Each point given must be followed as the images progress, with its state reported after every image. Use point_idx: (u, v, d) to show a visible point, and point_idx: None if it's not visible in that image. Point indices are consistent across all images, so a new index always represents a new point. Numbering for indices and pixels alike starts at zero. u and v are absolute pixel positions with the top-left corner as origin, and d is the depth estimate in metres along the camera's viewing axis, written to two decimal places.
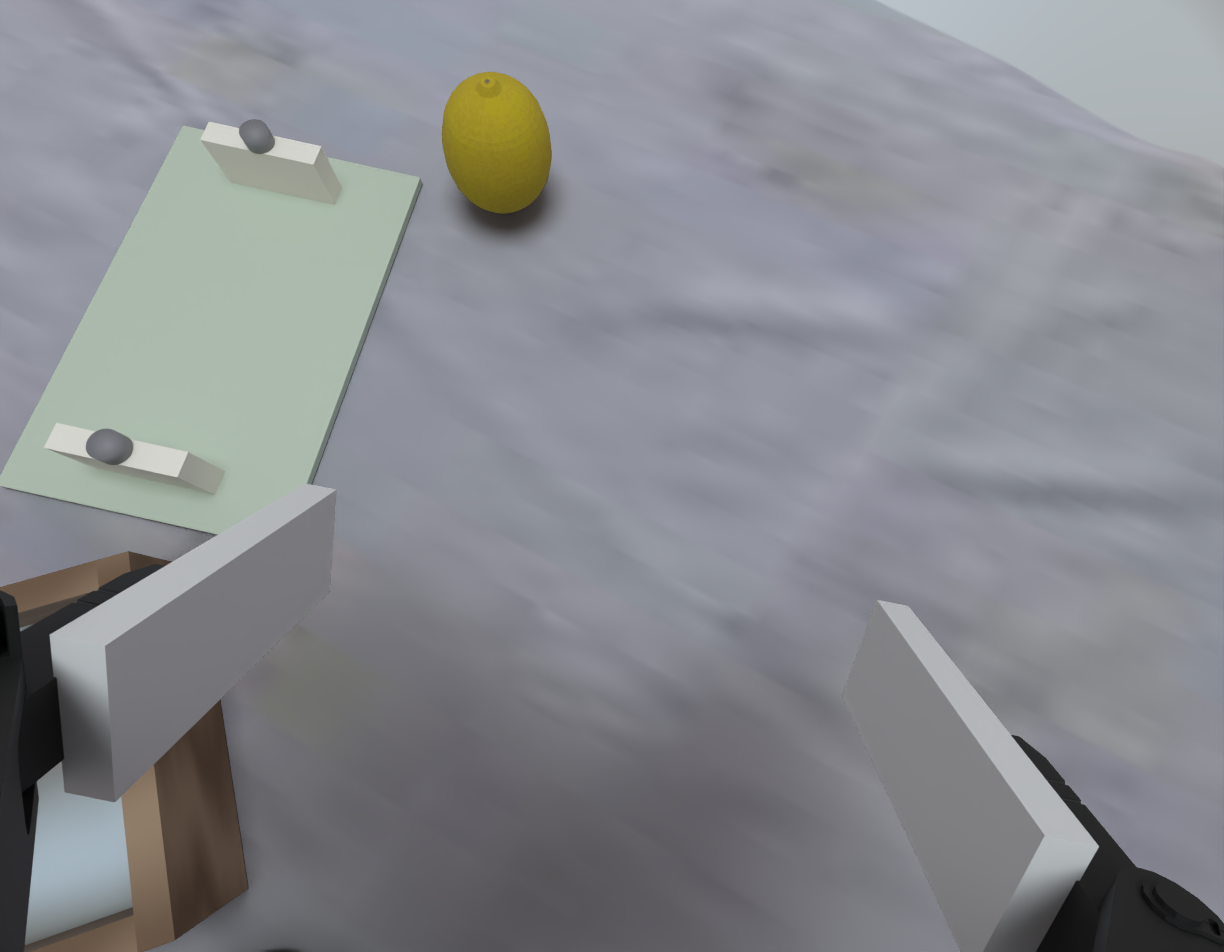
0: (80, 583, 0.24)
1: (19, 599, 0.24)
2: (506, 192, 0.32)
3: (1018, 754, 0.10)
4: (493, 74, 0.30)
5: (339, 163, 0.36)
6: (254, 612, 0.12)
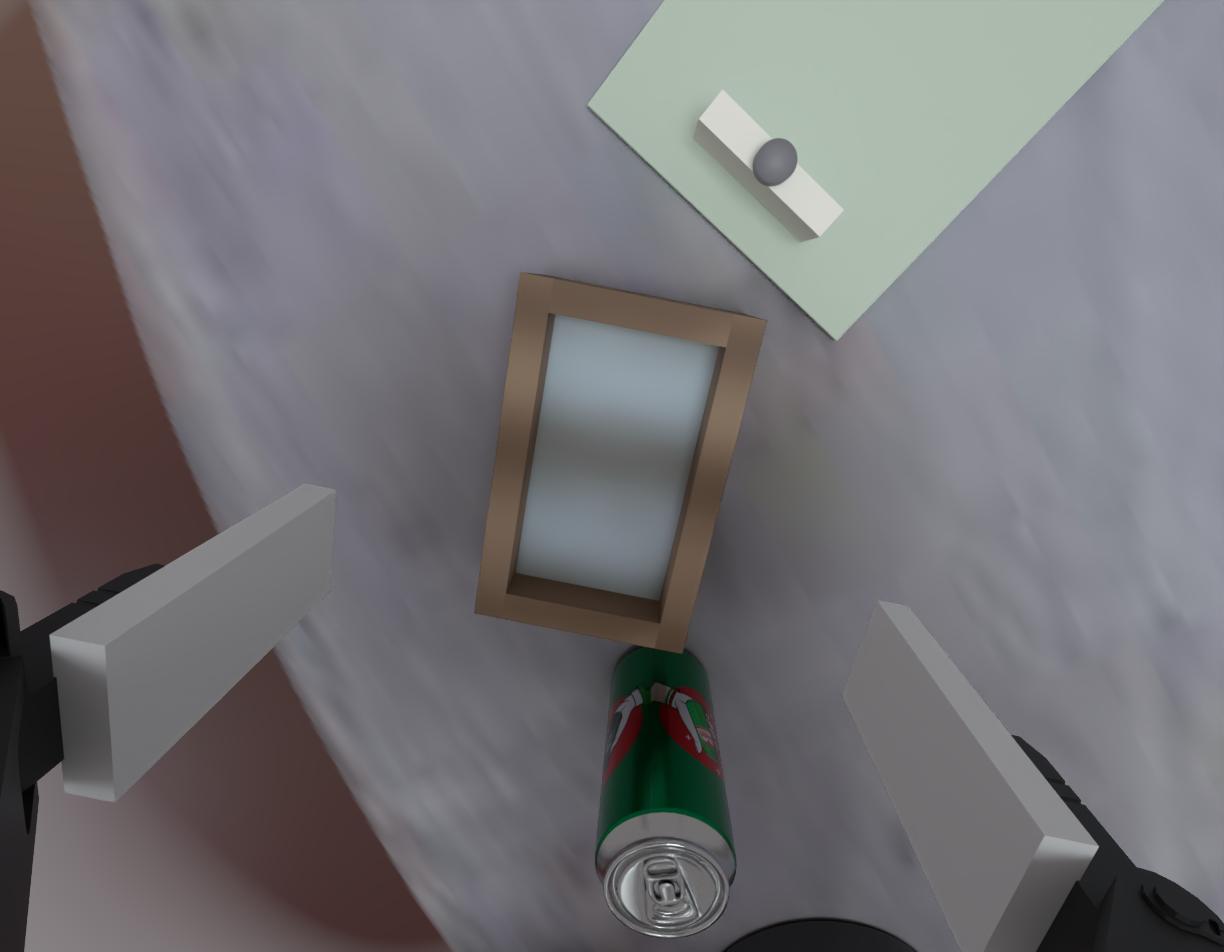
0: (711, 332, 0.23)
1: (652, 318, 0.23)
2: None
3: (1018, 754, 0.10)
4: None
5: None
6: (254, 612, 0.12)
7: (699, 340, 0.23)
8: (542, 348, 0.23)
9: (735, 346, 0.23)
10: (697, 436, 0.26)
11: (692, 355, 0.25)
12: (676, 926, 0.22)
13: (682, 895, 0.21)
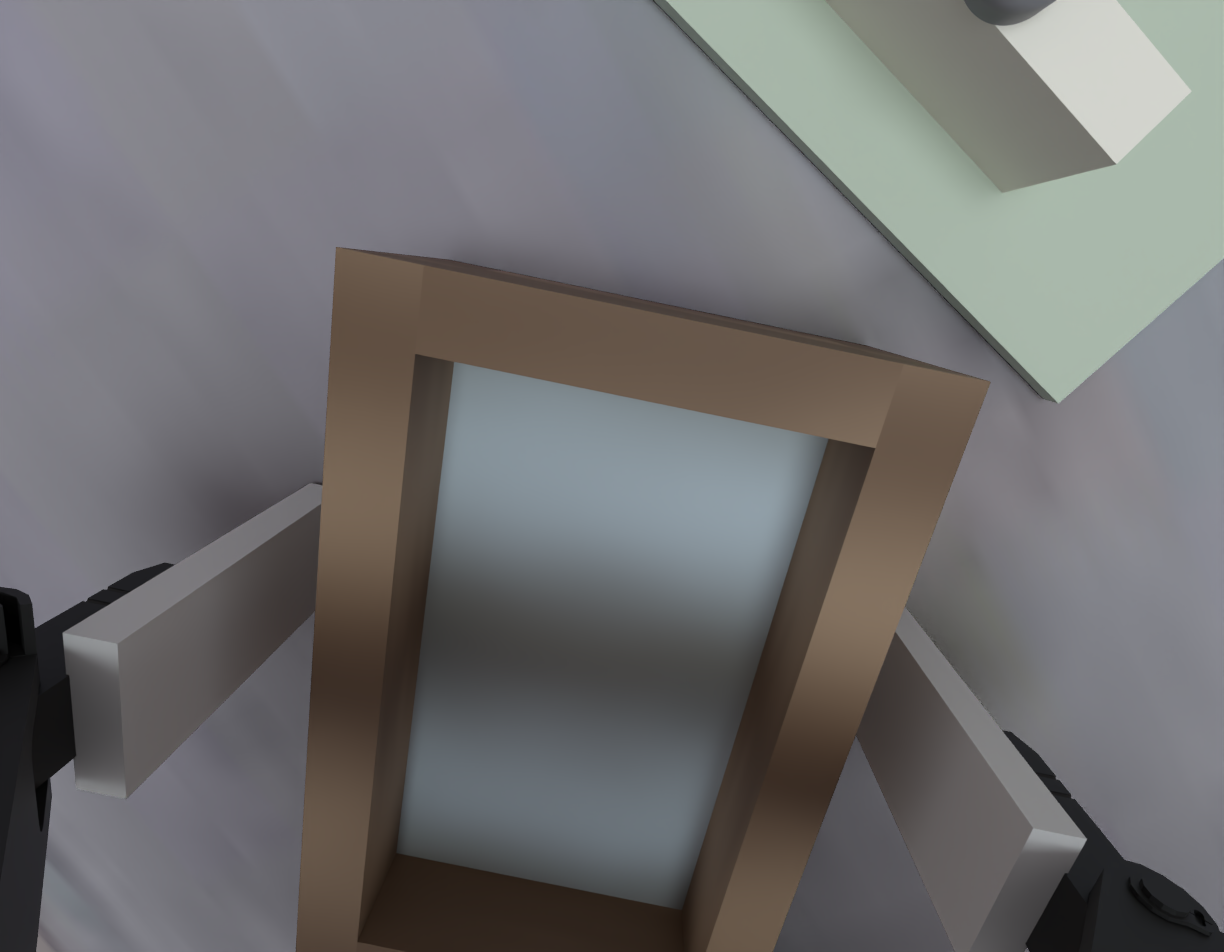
0: (840, 408, 0.09)
1: (686, 370, 0.09)
2: None
3: (1009, 749, 0.10)
4: None
5: None
6: (262, 611, 0.12)
7: (806, 429, 0.09)
8: (406, 441, 0.09)
9: (900, 445, 0.09)
10: (772, 613, 0.12)
11: (770, 446, 0.11)
12: None
13: None
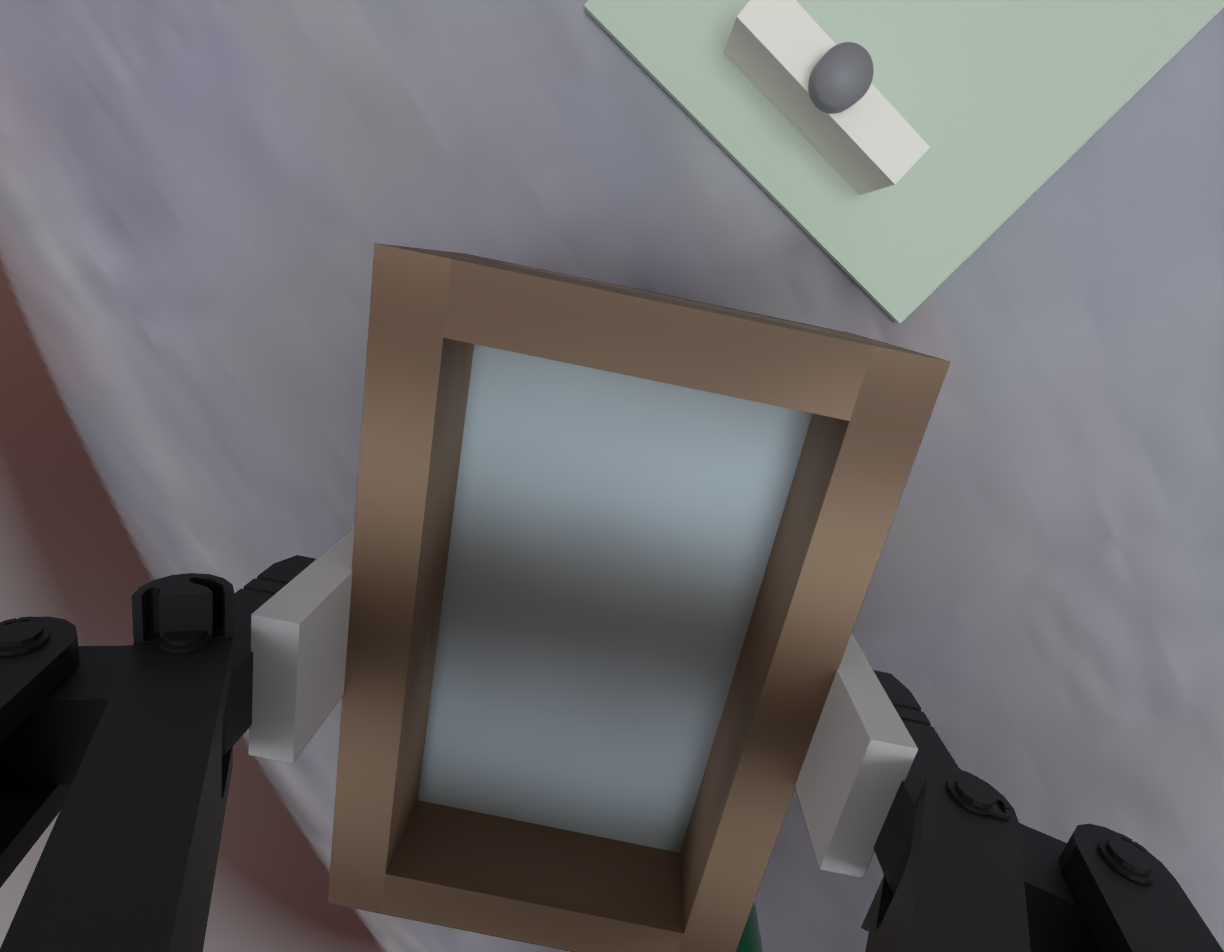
0: (818, 385, 0.10)
1: (683, 352, 0.10)
2: None
3: (871, 680, 0.11)
4: None
5: None
6: None
7: (788, 404, 0.10)
8: (434, 416, 0.10)
9: (871, 418, 0.10)
10: (761, 576, 0.13)
11: (759, 423, 0.12)
12: None
13: None
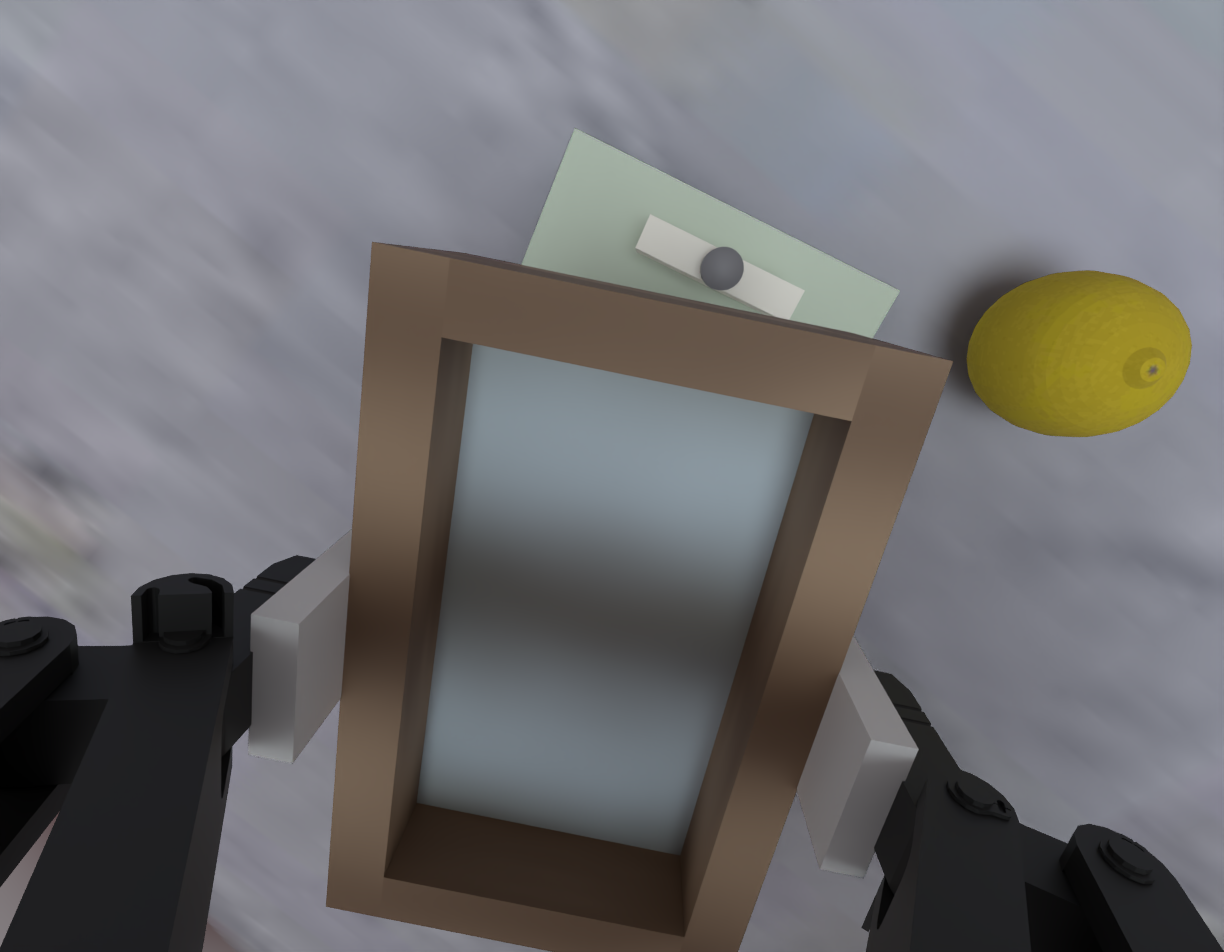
0: (820, 385, 0.10)
1: (682, 352, 0.10)
2: None
3: (872, 681, 0.11)
4: (1160, 332, 0.18)
5: (791, 243, 0.24)
6: None
7: (790, 404, 0.10)
8: (432, 416, 0.10)
9: (873, 419, 0.10)
10: (762, 577, 0.13)
11: (760, 422, 0.12)
12: None
13: None
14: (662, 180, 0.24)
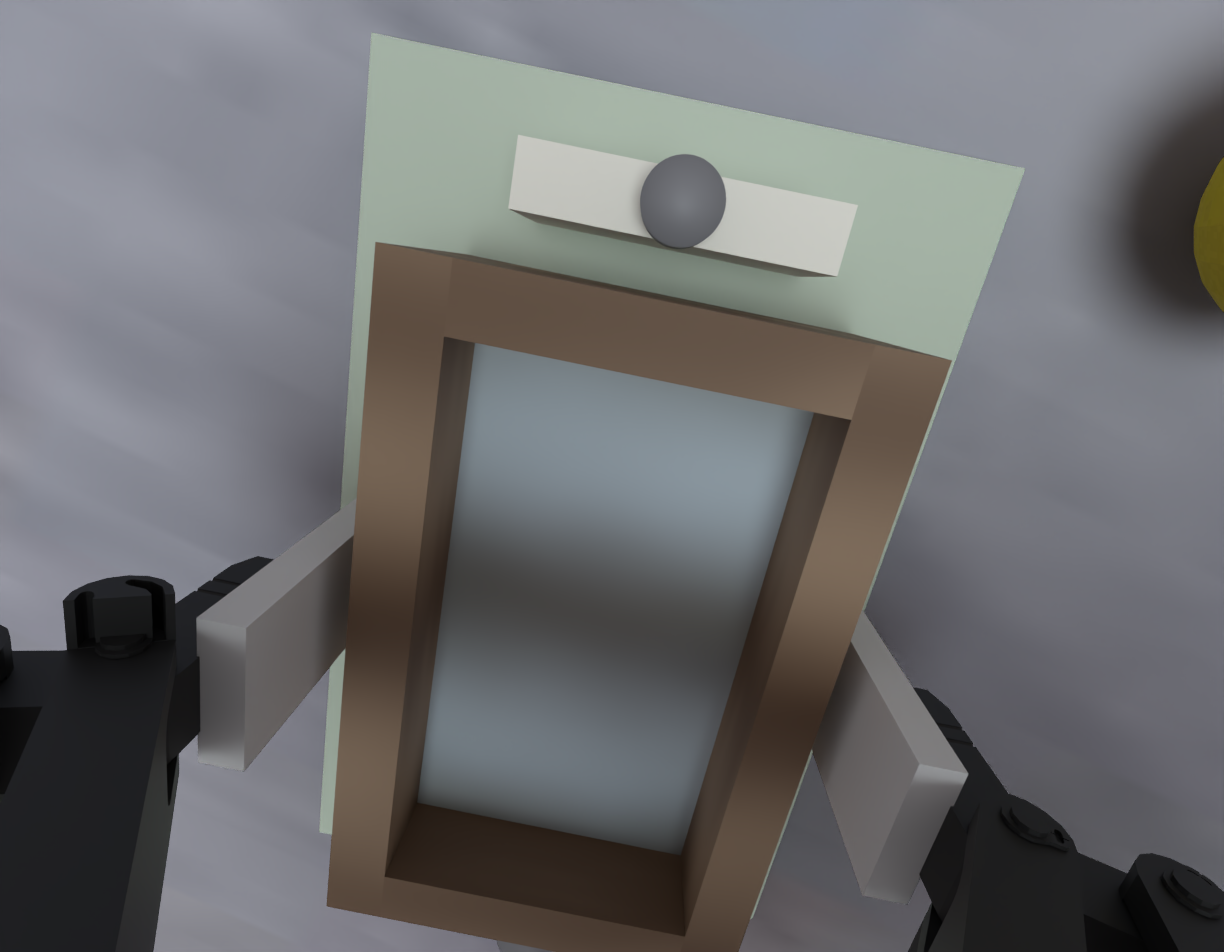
0: (819, 385, 0.10)
1: (684, 351, 0.10)
2: None
3: (913, 700, 0.11)
4: None
5: (804, 135, 0.13)
6: (345, 601, 0.13)
7: (790, 403, 0.10)
8: (435, 415, 0.10)
9: (873, 417, 0.10)
10: (762, 576, 0.13)
11: (760, 422, 0.12)
12: None
13: None
14: (547, 83, 0.13)
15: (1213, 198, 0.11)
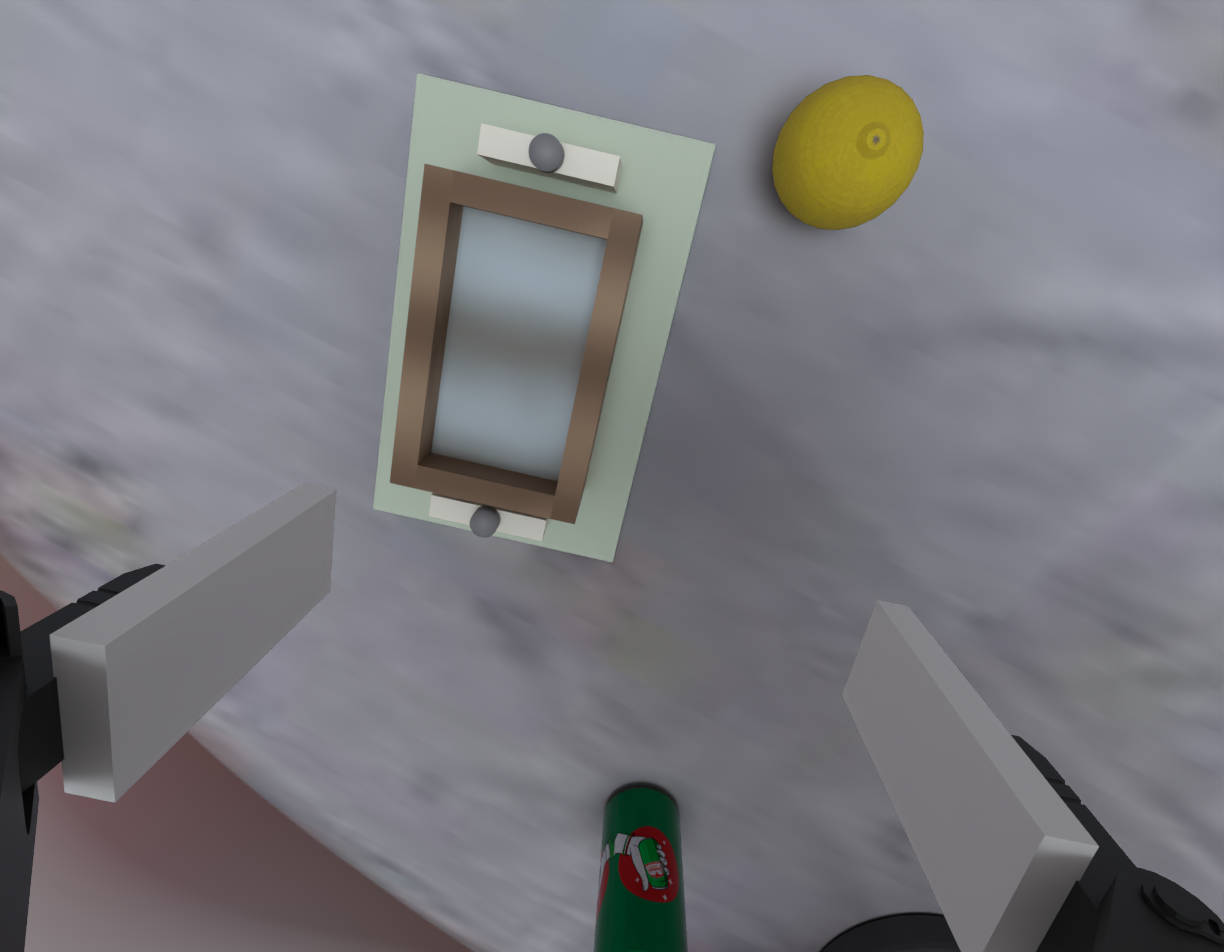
0: (594, 224, 0.26)
1: (542, 209, 0.25)
2: (848, 227, 0.27)
3: (1018, 754, 0.10)
4: (879, 108, 0.22)
5: (615, 126, 0.29)
6: (254, 612, 0.12)
7: (584, 231, 0.26)
8: (445, 235, 0.26)
9: (615, 238, 0.26)
10: None
11: (586, 252, 0.28)
12: None
13: None
14: (497, 98, 0.29)
15: None
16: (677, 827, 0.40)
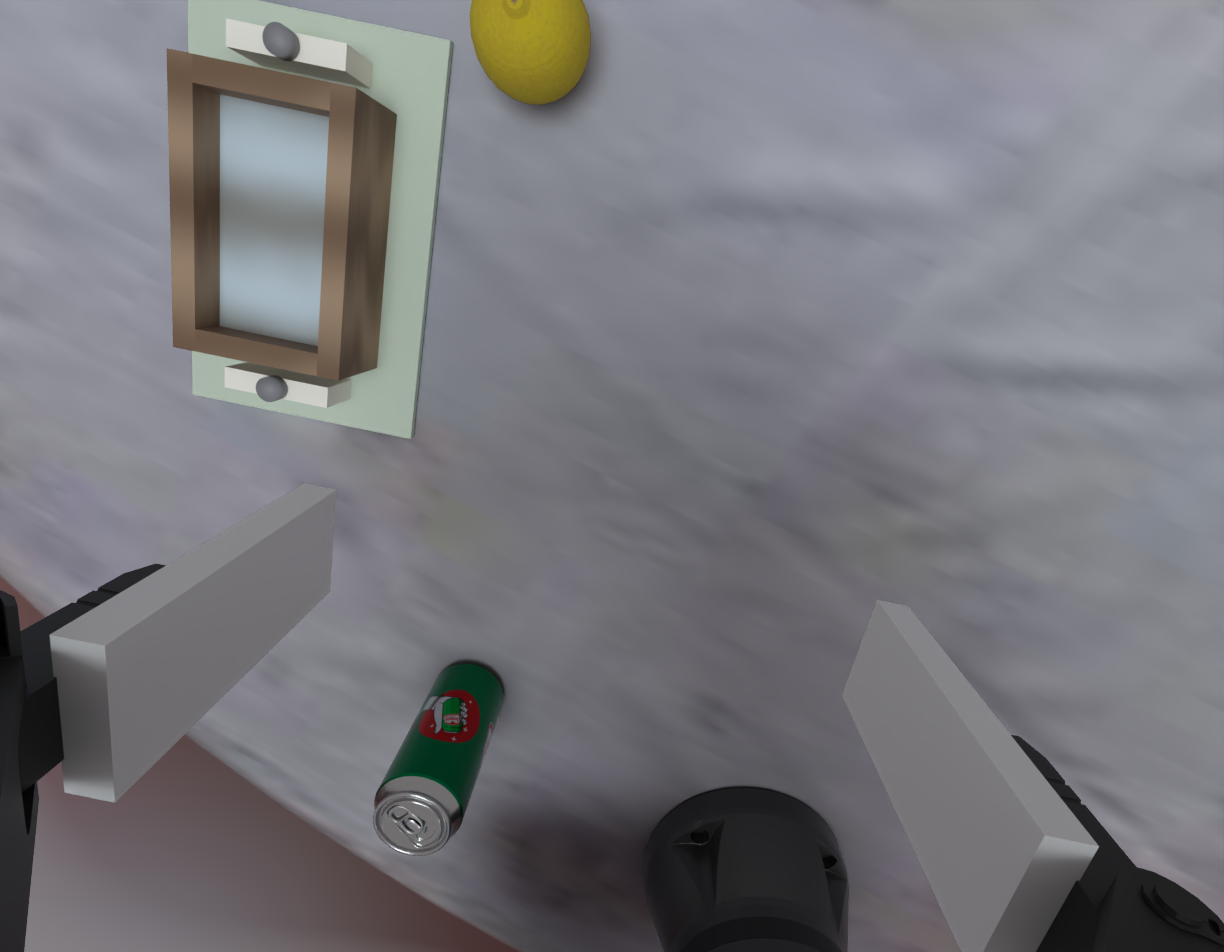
0: (316, 97, 0.29)
1: (270, 86, 0.29)
2: (546, 99, 0.30)
3: (1018, 754, 0.10)
4: None
5: (362, 27, 0.33)
6: (254, 612, 0.12)
7: (309, 105, 0.30)
8: (193, 113, 0.30)
9: (336, 109, 0.30)
10: None
11: None
12: (433, 842, 0.34)
13: (420, 823, 0.34)
14: (258, 6, 0.33)
15: None
16: (493, 695, 0.43)
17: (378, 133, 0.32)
